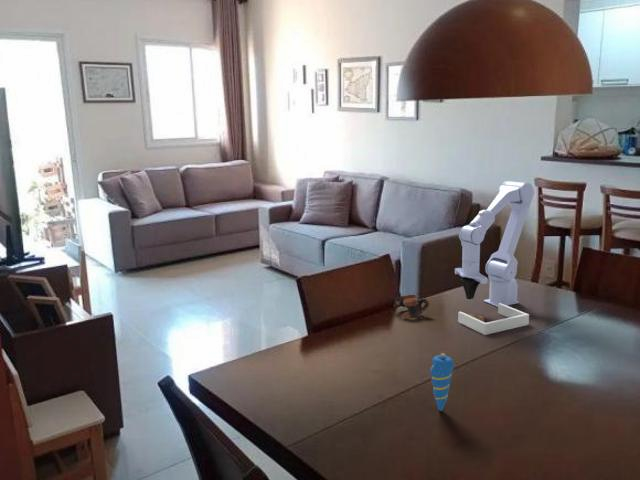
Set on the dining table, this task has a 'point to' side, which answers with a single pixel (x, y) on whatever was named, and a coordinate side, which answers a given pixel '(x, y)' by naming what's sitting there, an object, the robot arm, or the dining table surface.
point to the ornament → (441, 378)
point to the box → (513, 320)
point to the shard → (477, 317)
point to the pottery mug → (411, 305)
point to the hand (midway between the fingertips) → (470, 298)
